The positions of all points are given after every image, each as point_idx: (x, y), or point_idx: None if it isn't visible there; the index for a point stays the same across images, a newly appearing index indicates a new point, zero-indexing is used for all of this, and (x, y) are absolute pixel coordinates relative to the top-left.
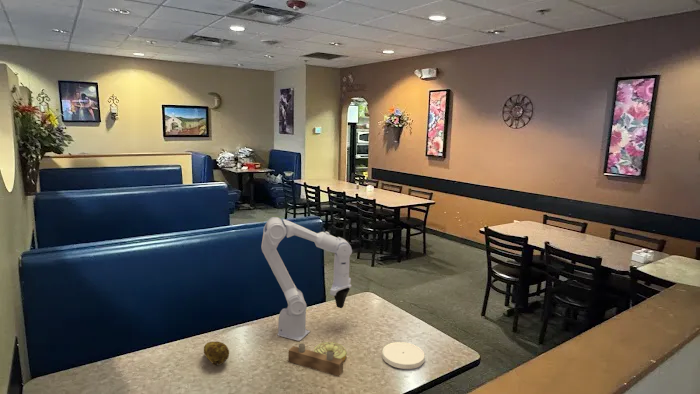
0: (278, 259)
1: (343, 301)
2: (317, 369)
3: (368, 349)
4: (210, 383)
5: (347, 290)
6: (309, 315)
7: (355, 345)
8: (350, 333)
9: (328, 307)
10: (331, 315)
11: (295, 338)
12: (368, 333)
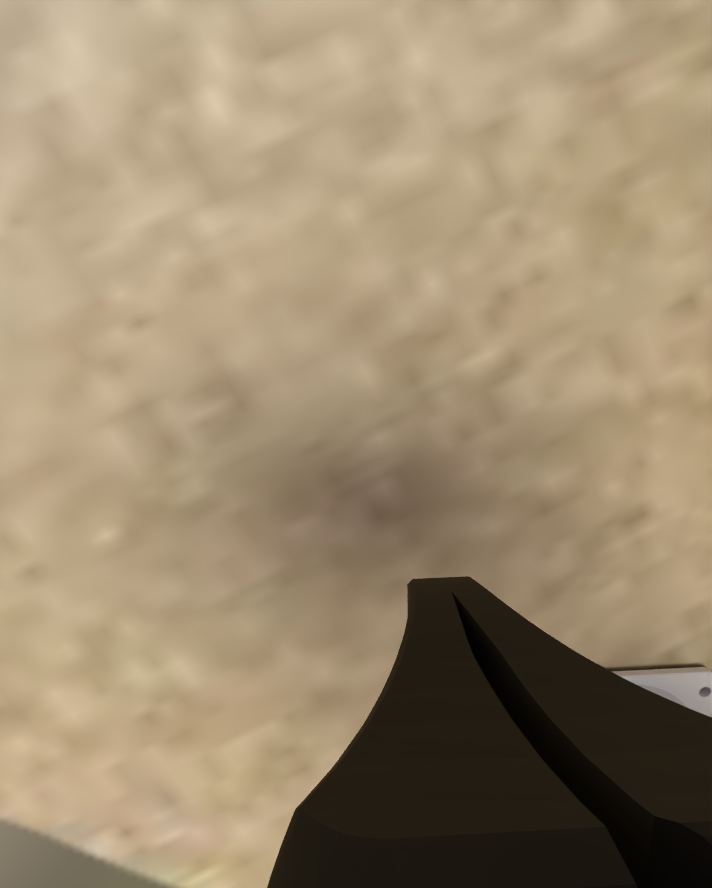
0: None
1: (513, 631)
2: None
3: (609, 61)
4: None
5: (619, 882)
6: (274, 808)
7: (586, 222)
8: (392, 367)
9: (41, 758)
10: (166, 668)
11: (703, 710)
12: (302, 199)
